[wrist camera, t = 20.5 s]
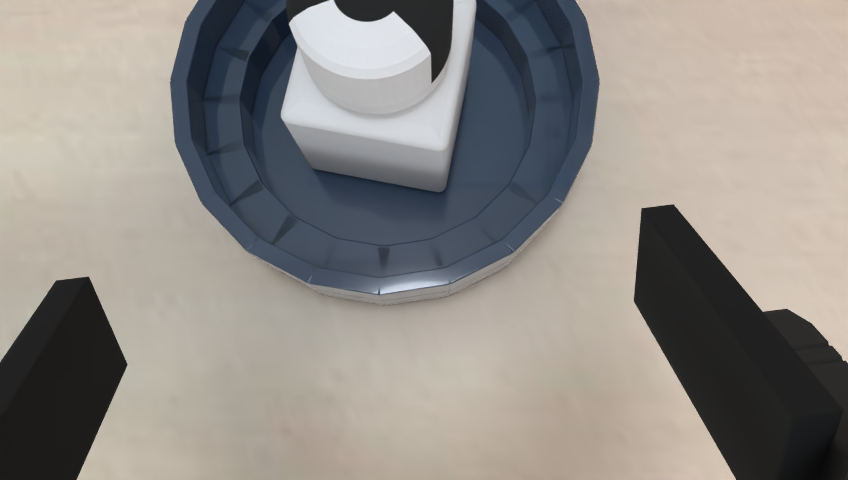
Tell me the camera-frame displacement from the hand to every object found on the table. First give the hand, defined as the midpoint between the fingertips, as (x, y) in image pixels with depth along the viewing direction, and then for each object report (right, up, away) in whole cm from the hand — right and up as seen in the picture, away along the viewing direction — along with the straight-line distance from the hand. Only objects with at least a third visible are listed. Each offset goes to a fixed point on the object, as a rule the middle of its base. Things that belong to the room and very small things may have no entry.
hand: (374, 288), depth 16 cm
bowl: (-1, +7, +19) cm, 21 cm away
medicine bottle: (-1, +7, +19) cm, 21 cm away
